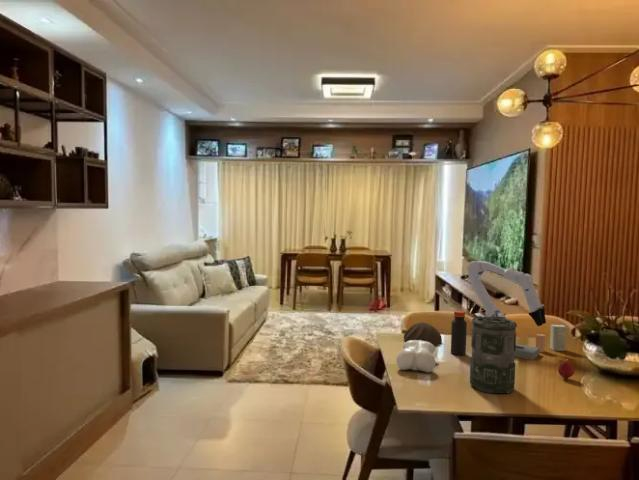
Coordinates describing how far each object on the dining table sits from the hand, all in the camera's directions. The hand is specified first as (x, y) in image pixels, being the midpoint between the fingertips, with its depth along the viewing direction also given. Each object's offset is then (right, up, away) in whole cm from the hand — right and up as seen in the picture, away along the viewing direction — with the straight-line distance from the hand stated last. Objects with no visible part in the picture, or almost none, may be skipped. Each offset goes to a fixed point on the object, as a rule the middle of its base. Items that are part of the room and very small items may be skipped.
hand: (541, 324), depth 235 cm
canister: (-44, -14, -54) cm, 71 cm away
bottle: (-43, -12, -8) cm, 46 cm away
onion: (-10, -15, -42) cm, 45 cm away
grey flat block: (-14, -13, -6) cm, 20 cm away
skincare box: (+9, -13, +4) cm, 17 cm away
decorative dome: (-55, -11, +15) cm, 58 cm away
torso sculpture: (-66, -13, -26) cm, 72 cm away
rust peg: (-1, -13, 0) cm, 13 cm away
